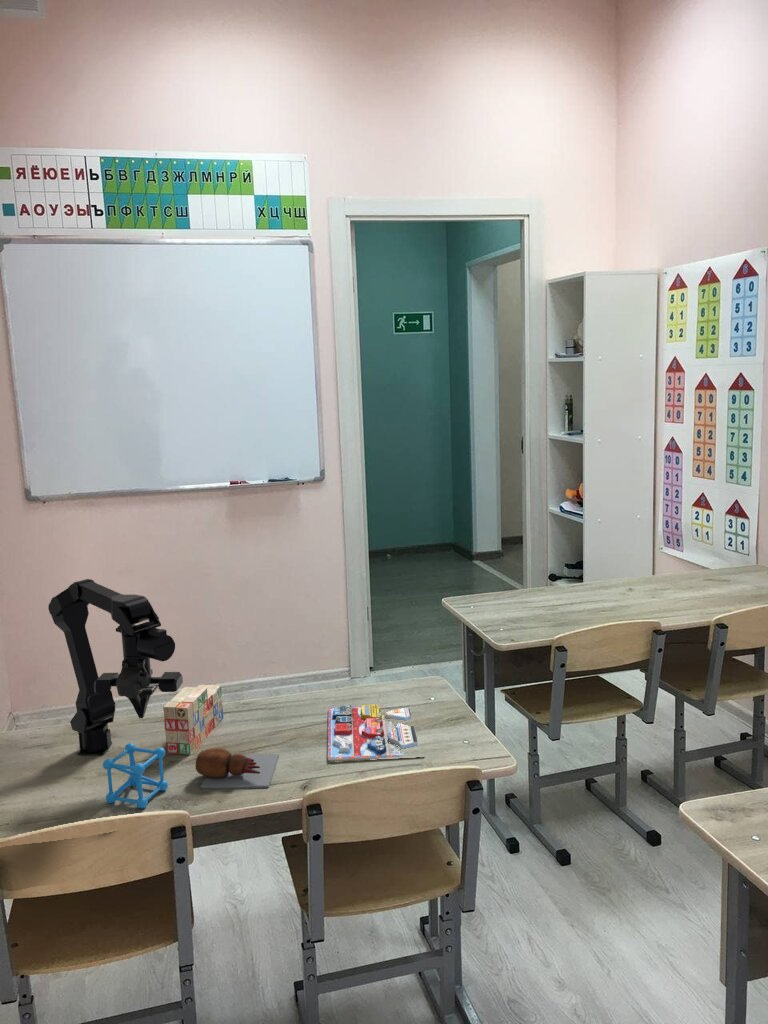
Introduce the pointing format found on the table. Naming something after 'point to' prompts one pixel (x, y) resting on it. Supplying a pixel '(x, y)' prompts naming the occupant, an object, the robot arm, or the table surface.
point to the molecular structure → (135, 775)
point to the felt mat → (247, 774)
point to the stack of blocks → (192, 717)
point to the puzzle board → (367, 733)
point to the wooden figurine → (223, 763)
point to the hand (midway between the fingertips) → (141, 717)
